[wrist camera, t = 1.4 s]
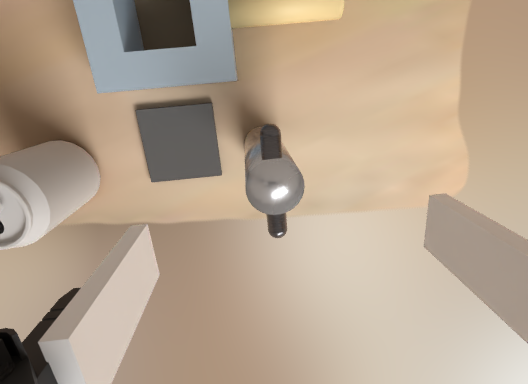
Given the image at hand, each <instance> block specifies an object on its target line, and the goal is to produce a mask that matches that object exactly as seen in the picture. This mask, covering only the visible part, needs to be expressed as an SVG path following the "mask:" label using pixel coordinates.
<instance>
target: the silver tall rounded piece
mask: <svg viewBox="0 0 528 384" xmlns="http://www.w3.org/2000/svg"><path fill="white" fill-rule="evenodd" d="M245 181H246V195H247V198H248V200H249V202H250V203H251V204H252V206H253V207H254V208H256V209H257V210H259V211H260V212H262V213H265V214H267V222H268V231H269V233H270V235H271V236H272V237H275V238H281V237H283V236H284V235H285V234H286V231H287V222H286V212H288V211H290V210H291V209H293V208H294V207H295V206H296V205H297V204H298V203H299V202H300V200H301V198H302V196H303V193H304V179H303V176H302V174H301V172H300V171H299V169H298V167H297V166H296V164H295V163H294V161H293V159H292V158H291V156H290V155H289V153H288V151H287V150H286V148H285V146H284V145H283V143H282V142H281V132H280V129H279V128H278V127H277V126H276V125H275V124H266V125H264V126H263V127H257V128H254V129H253V130H251V131H250V132H249V133H248V135H247V136H246V139H245Z"/></svg>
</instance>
